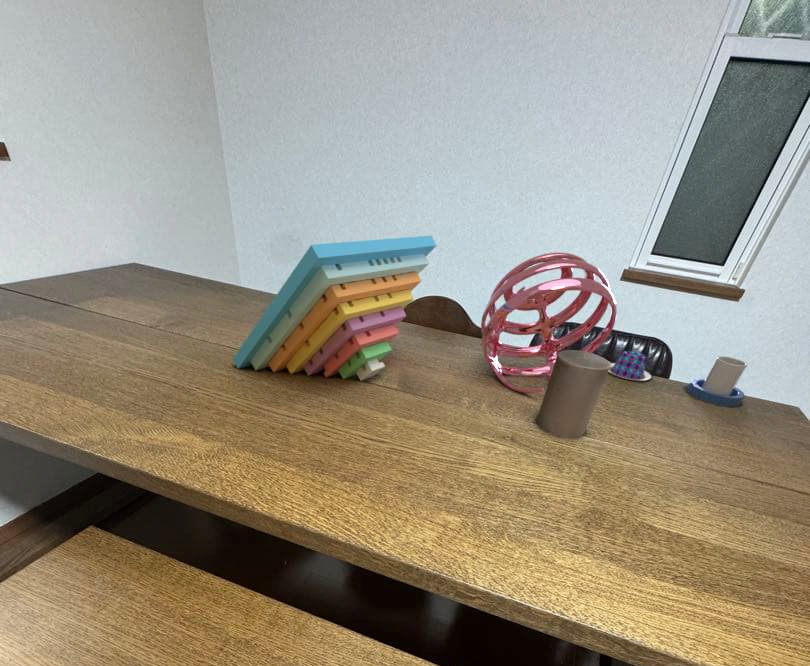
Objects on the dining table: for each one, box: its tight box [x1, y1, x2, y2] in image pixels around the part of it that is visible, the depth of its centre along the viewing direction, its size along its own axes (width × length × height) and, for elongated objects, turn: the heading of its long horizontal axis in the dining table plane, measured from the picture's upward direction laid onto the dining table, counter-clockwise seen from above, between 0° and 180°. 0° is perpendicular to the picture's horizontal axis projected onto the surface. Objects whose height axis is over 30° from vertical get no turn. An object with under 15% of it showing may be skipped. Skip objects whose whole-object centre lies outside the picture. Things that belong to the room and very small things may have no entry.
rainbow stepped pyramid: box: [232, 235, 437, 382], centre depth 97 cm, size 35×18×35 cm
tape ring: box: [686, 377, 745, 408], centre depth 112 cm, size 12×12×2 cm
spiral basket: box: [480, 251, 618, 394], centre depth 98 cm, size 28×28×27 cm
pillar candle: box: [535, 349, 612, 439], centre depth 85 cm, size 10×10×15 cm
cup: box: [701, 355, 748, 396], centre depth 110 cm, size 6×6×9 cm
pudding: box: [608, 350, 652, 382], centre depth 118 cm, size 12×12×5 cm
